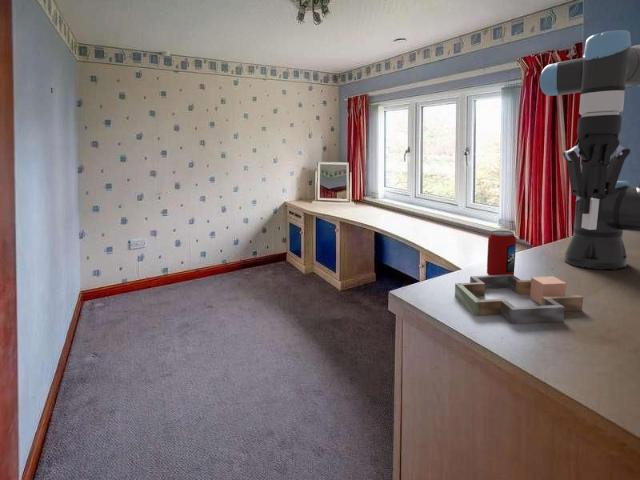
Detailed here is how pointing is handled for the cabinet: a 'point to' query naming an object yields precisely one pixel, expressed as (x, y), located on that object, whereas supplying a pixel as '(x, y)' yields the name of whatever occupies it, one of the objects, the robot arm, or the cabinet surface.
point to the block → (546, 288)
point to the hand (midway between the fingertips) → (588, 228)
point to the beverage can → (501, 253)
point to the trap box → (546, 312)
